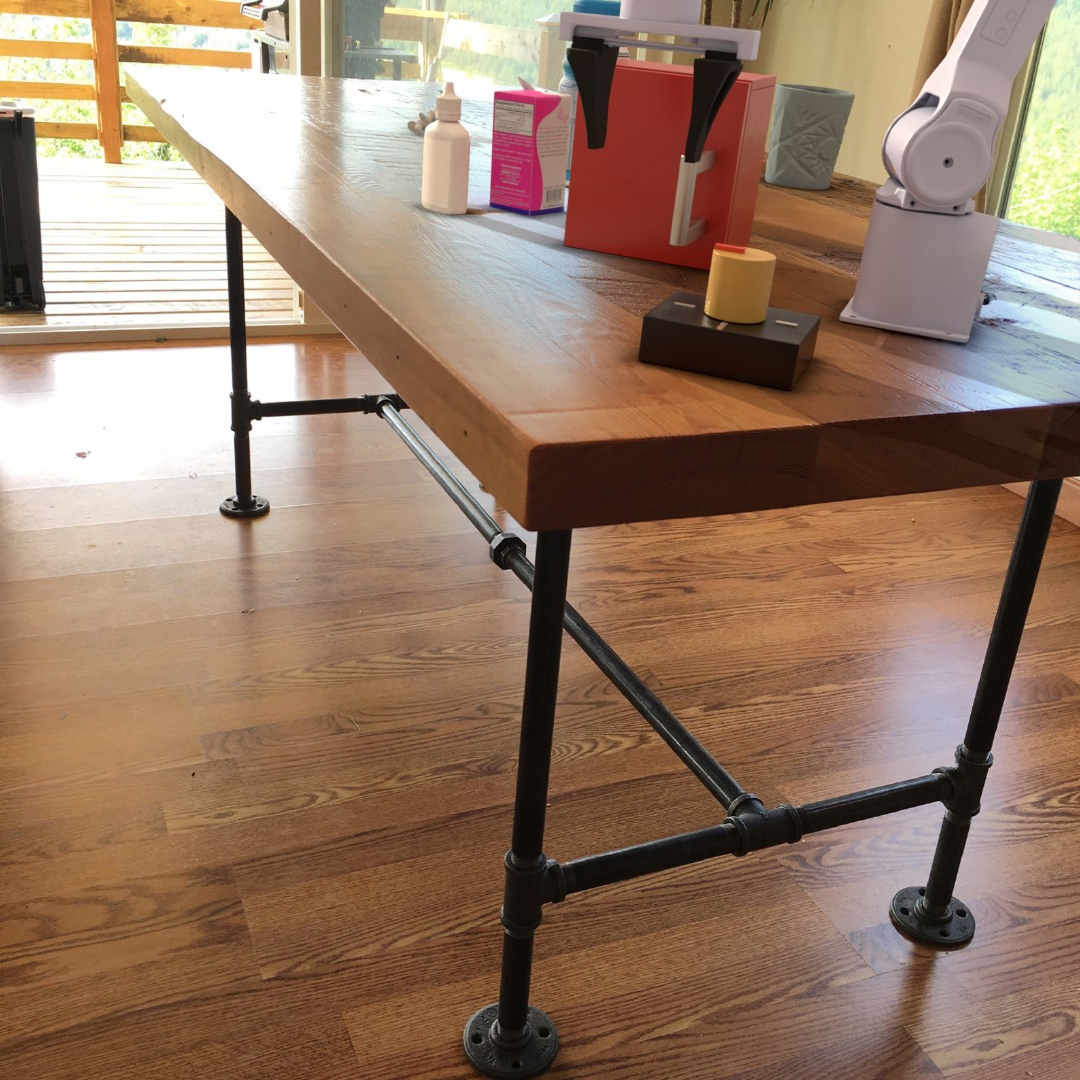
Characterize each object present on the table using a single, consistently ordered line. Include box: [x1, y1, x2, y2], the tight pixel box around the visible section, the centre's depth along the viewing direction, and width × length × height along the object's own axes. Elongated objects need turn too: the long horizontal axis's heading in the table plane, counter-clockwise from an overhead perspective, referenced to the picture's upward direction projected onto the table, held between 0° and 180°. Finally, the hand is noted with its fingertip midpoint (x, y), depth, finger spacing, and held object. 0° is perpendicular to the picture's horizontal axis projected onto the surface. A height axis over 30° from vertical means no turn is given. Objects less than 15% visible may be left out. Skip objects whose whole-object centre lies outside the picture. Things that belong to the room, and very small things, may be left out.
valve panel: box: [637, 290, 822, 392], centre depth 74 cm, size 10×8×3 cm
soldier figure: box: [406, 89, 444, 136], centre depth 166 cm, size 8×5×12 cm
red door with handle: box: [563, 67, 751, 272], centre depth 94 cm, size 8×15×15 cm, turn 68°
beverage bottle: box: [558, 0, 633, 188], centre depth 130 cm, size 8×8×20 cm
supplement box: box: [488, 89, 571, 217], centre depth 114 cm, size 6×6×12 cm
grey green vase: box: [764, 83, 856, 191], centre depth 147 cm, size 10×10×12 cm
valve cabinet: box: [615, 59, 778, 248], centre depth 101 cm, size 10×15×16 cm
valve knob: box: [704, 243, 777, 323], centre depth 72 cm, size 4×4×4 cm
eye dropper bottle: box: [421, 81, 471, 216], centre depth 110 cm, size 4×6×12 cm
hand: (643, 154), depth 84 cm, fingers open, 7 cm apart
